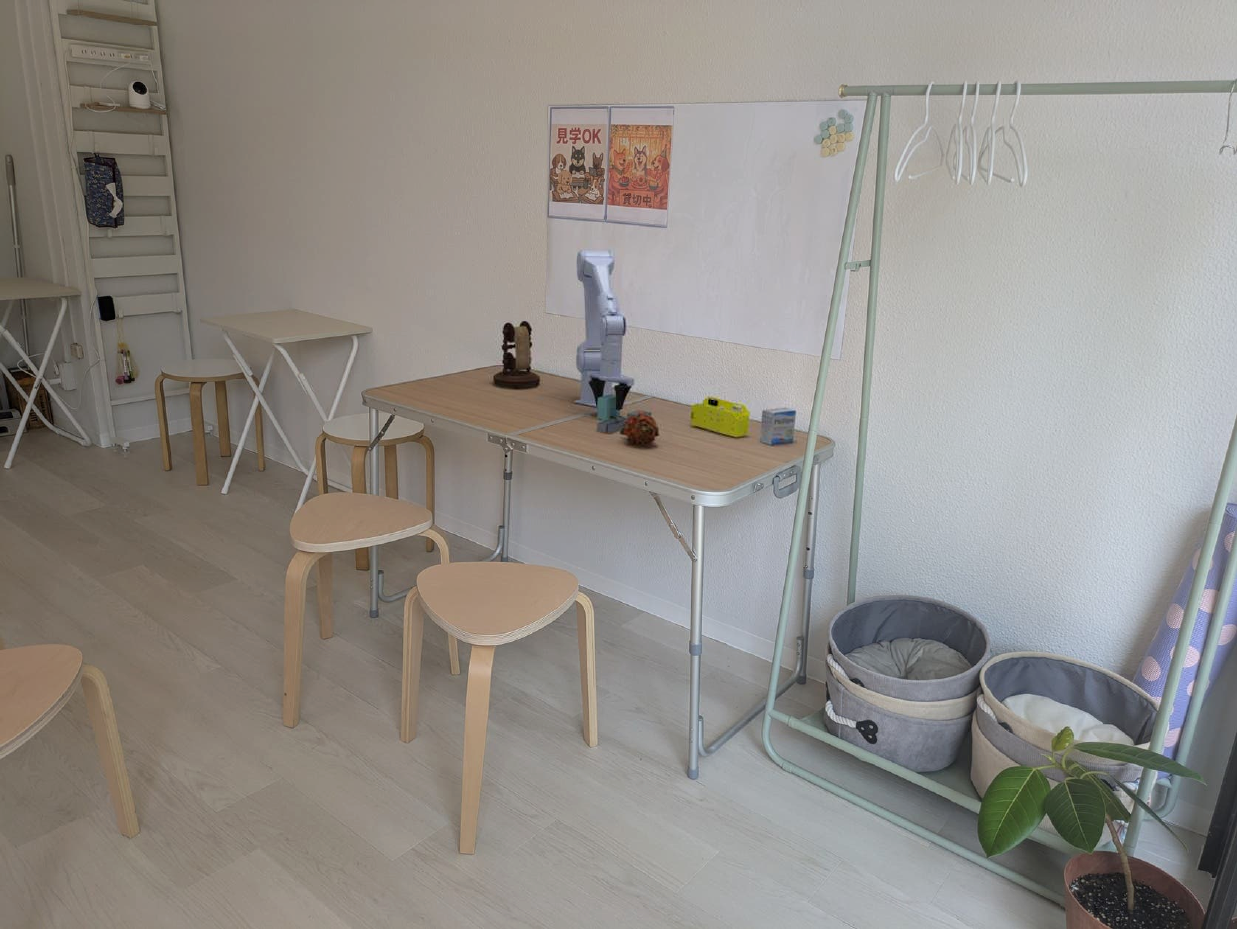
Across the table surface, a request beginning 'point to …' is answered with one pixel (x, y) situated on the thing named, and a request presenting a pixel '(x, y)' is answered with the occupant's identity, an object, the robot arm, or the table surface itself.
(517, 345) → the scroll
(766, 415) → the medicine box
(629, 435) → the brown scaly rounded piece
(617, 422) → the rail
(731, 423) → the yellow toy chassis
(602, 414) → the clip
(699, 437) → the table surface
